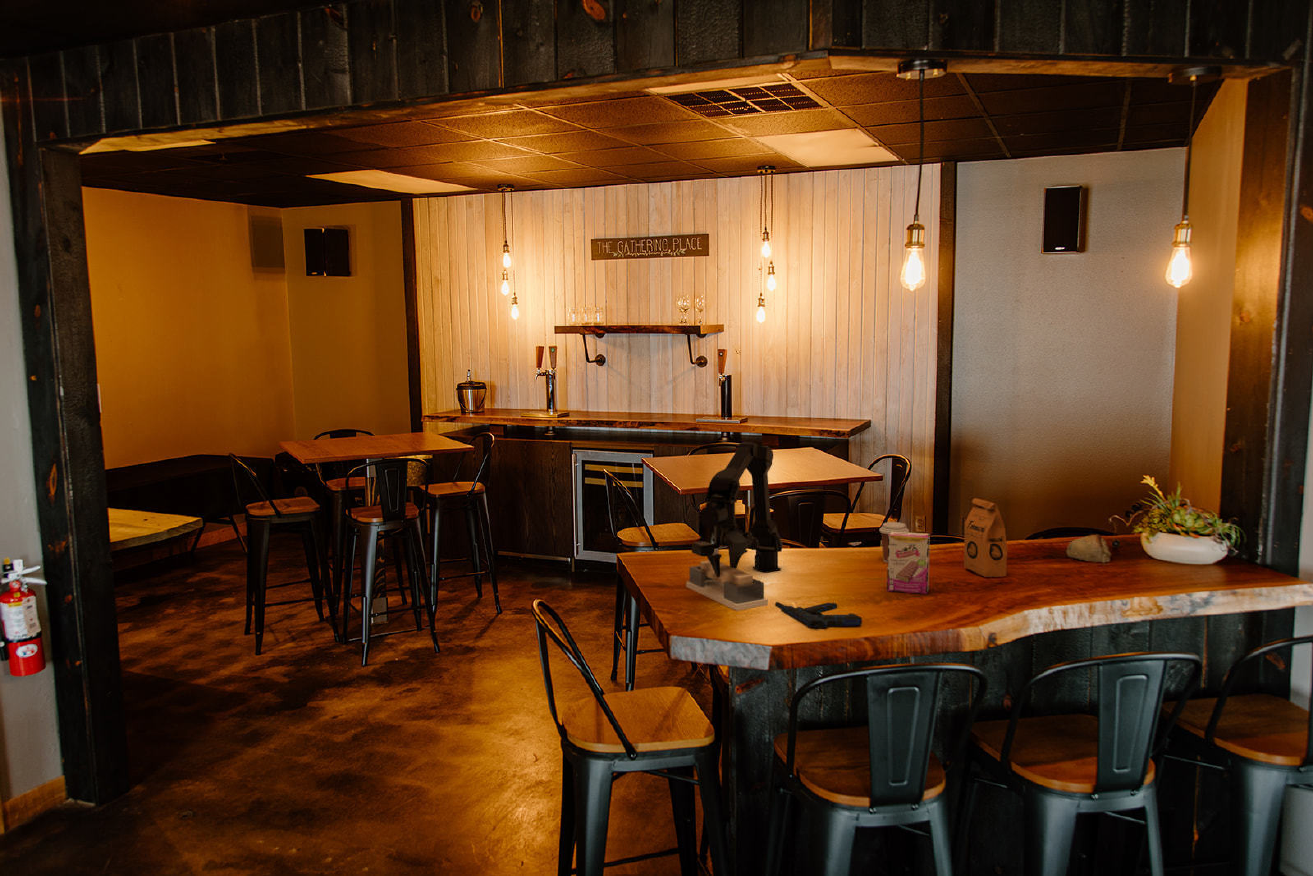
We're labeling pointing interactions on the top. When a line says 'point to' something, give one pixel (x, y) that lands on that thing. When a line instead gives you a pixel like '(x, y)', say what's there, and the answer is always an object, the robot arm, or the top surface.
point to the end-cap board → (716, 593)
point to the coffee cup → (885, 532)
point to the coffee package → (985, 540)
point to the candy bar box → (908, 562)
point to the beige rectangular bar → (726, 574)
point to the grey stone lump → (1089, 549)
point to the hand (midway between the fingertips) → (725, 575)
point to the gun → (820, 616)
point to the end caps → (731, 587)
